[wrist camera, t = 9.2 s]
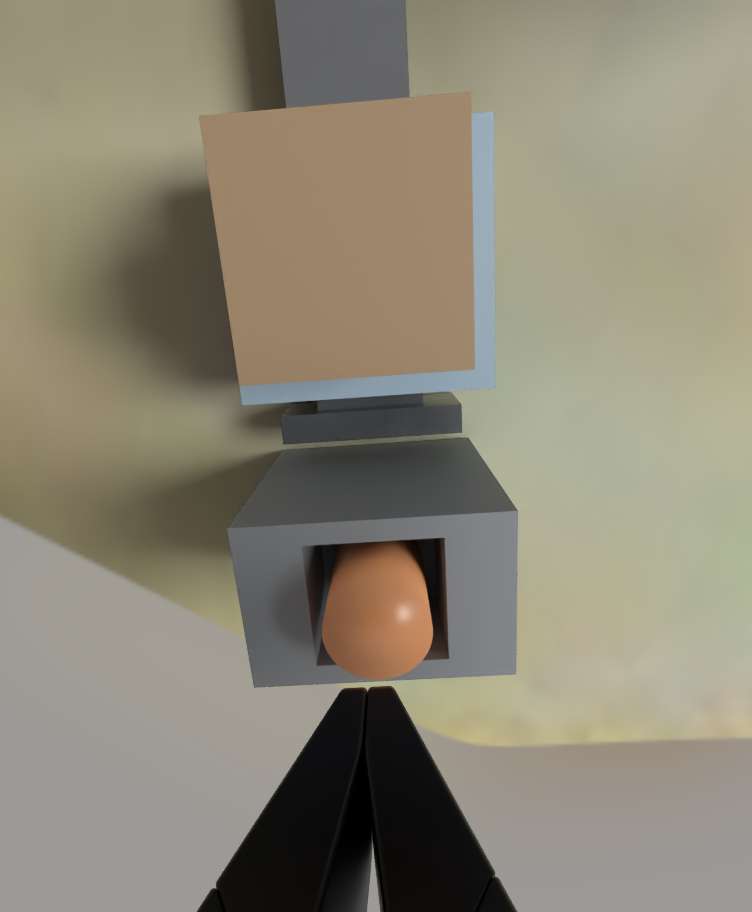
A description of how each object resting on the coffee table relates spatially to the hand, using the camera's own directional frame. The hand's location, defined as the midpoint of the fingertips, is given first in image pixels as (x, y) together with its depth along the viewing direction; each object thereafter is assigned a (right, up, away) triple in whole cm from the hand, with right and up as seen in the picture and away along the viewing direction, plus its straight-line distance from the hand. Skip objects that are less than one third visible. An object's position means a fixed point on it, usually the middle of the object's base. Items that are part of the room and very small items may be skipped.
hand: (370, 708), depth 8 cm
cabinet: (0, +3, +8) cm, 9 cm away
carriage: (0, +9, +6) cm, 11 cm away
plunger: (0, +1, +5) cm, 5 cm away
